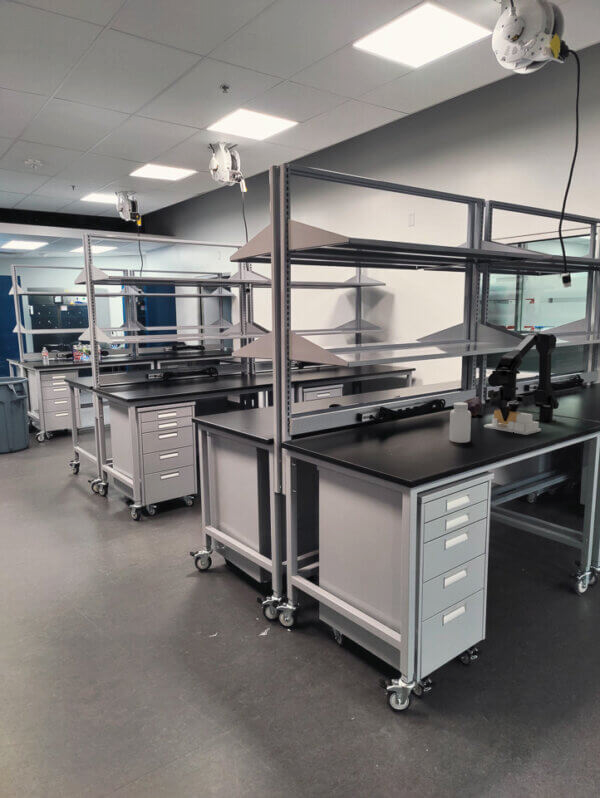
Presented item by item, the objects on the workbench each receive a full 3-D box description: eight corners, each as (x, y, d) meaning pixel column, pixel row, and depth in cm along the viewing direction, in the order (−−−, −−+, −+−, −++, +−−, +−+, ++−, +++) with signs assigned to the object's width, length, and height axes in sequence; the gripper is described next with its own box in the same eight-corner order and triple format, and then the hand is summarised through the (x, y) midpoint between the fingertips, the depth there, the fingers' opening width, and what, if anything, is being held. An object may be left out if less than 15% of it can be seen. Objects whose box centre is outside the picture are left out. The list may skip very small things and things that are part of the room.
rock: (457, 418, 263) (476, 420, 256) (455, 401, 261) (475, 403, 254) (468, 411, 271) (487, 413, 264) (467, 395, 269) (486, 396, 262)
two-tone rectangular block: (499, 420, 239) (499, 409, 238) (532, 426, 226) (532, 414, 225) (493, 422, 236) (493, 410, 235) (526, 427, 224) (526, 415, 223)
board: (498, 423, 243) (499, 415, 242) (540, 431, 227) (541, 421, 226) (484, 427, 236) (484, 418, 236) (526, 434, 220) (526, 425, 220)
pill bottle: (455, 443, 208) (456, 405, 206) (445, 439, 216) (446, 402, 213) (474, 442, 210) (475, 404, 207) (463, 437, 217) (465, 401, 215)
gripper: (505, 381, 242) (503, 415, 245) (479, 385, 231) (478, 420, 234) (528, 383, 233) (526, 418, 236) (502, 387, 222) (501, 424, 225)
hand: (507, 420), depth 233 cm, fingers closed on two-tone rectangular block, 3 cm apart
